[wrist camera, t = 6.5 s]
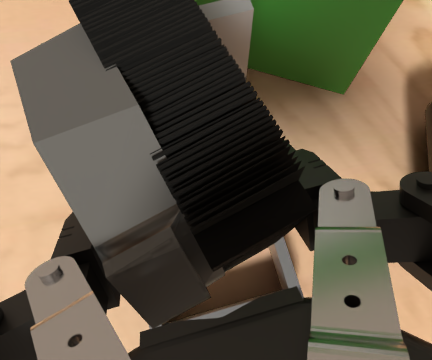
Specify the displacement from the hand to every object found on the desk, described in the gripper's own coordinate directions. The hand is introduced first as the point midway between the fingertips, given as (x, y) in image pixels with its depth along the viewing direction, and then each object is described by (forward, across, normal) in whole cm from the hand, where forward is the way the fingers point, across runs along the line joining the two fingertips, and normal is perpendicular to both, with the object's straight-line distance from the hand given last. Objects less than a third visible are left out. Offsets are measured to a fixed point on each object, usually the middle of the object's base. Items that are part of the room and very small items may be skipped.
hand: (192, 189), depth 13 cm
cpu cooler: (+5, +1, +3) cm, 5 cm away
